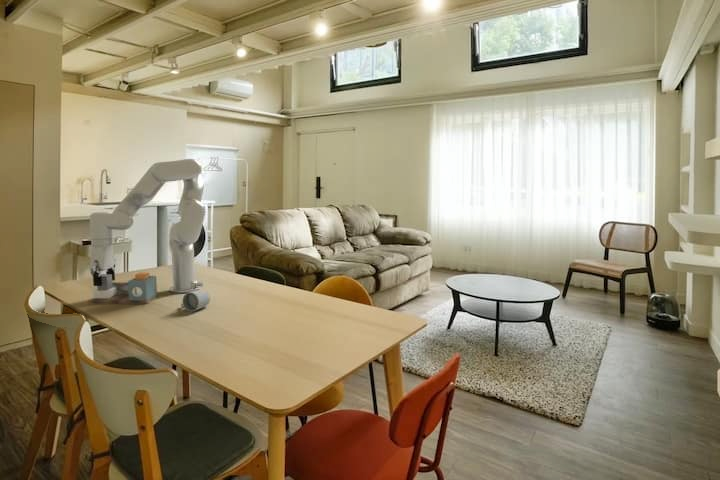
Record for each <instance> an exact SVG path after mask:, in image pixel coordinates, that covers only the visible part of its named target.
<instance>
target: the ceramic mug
mask: <svg viewBox="0 0 720 480" xmlns="http://www.w3.org/2000/svg"><path fill="white" fill-rule="evenodd" d="M210 300H211V297H210V293H209V292H208V291H207V290H204V289H198V290H196V291H192V292H187V293H184V295H183V297H182V300H181V301H182V303H181V304H180V306H181V308H182V309H183V308H184V309H185V310H186V311H188V312H191V313H193V312H196V311H198V310H200V309H204V308H205V307H207V306H208V305H209V304H210Z"/></svg>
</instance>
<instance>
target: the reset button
mask: <svg viewBox="0 0 720 480" xmlns="http://www.w3.org/2000/svg"><path fill="white" fill-rule="evenodd" d="M149 276H150V272H138V273H136V274H134V278H135V280H146V279H148V278H149Z"/></svg>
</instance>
